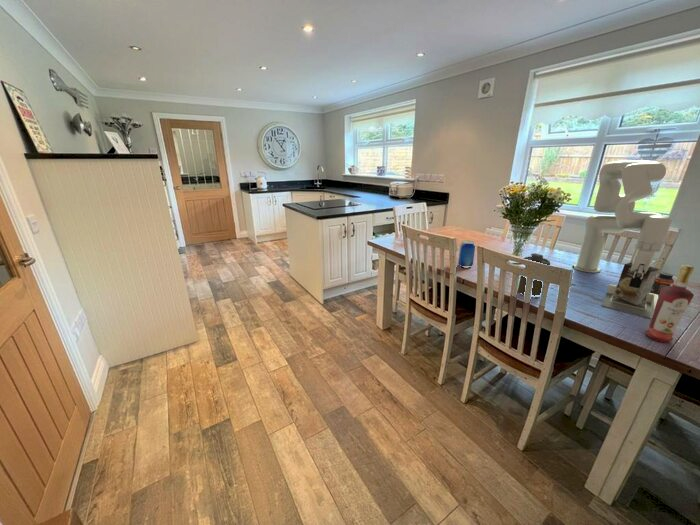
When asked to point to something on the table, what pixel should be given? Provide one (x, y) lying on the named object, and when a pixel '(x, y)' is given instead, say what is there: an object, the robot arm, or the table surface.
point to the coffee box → (634, 293)
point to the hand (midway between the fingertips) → (634, 283)
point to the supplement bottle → (661, 282)
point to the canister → (536, 284)
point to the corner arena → (630, 304)
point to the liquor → (670, 307)
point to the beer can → (466, 253)
